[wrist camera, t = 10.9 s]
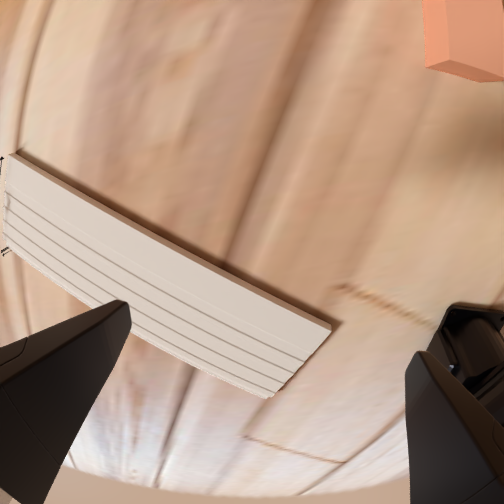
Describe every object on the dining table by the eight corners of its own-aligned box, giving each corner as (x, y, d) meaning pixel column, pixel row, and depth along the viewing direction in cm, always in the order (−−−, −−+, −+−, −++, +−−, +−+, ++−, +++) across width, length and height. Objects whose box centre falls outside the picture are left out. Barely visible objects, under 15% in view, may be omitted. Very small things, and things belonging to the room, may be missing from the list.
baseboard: (260, 399, 29) (331, 319, 23) (255, 422, 26) (332, 343, 21) (11, 252, 27) (19, 150, 22) (-6, 264, 25) (-4, 157, 19)
